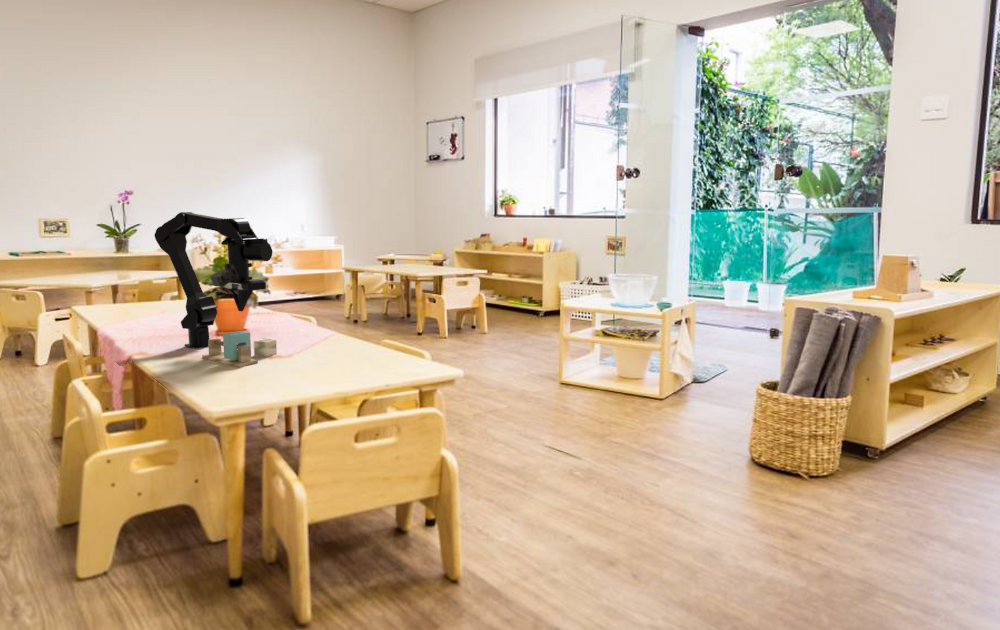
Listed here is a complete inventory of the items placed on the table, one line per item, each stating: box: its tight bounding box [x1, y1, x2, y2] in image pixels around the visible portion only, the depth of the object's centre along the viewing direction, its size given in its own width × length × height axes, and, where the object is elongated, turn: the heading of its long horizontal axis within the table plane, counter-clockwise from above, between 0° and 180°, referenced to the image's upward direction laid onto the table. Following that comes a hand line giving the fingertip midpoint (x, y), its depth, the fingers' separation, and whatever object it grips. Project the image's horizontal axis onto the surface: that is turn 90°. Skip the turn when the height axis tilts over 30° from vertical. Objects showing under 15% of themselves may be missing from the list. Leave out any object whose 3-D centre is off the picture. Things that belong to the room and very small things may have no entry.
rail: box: [202, 338, 259, 368], centre depth 200 cm, size 18×6×5 cm, turn 54°
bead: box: [222, 330, 252, 360], centre depth 197 cm, size 4×6×7 cm, turn 144°
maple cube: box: [253, 338, 278, 358], centre depth 208 cm, size 4×4×4 cm
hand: (240, 311), depth 213 cm, fingers closed
